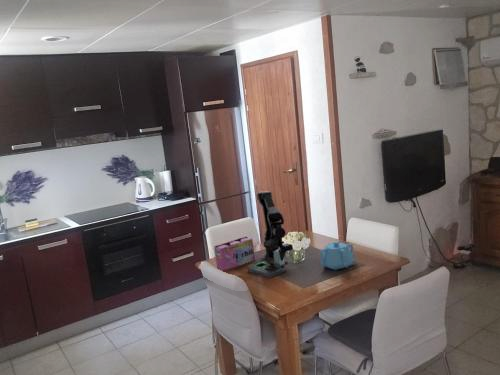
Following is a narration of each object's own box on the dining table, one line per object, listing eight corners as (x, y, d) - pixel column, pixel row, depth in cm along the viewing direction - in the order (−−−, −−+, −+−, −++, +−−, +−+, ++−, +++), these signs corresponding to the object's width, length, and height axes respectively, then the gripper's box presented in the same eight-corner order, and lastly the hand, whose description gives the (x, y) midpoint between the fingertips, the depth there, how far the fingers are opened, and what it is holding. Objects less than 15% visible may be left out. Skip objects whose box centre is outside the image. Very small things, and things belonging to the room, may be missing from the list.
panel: (263, 265, 253) (263, 259, 253) (285, 271, 239) (285, 265, 239) (247, 271, 246) (247, 266, 245) (269, 278, 232) (268, 272, 231)
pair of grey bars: (280, 261, 256) (280, 259, 256) (287, 263, 251) (287, 261, 251) (271, 265, 251) (271, 263, 251) (279, 267, 247) (278, 265, 247)
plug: (279, 262, 254) (278, 249, 253) (284, 263, 251) (283, 250, 250) (274, 264, 252) (273, 251, 250) (279, 265, 249) (278, 252, 247)
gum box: (250, 257, 270) (247, 235, 268) (257, 259, 264) (254, 238, 262) (216, 268, 257) (213, 246, 255) (223, 271, 251) (220, 248, 248)
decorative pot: (346, 273, 226) (343, 248, 224) (317, 269, 236) (315, 245, 233) (358, 262, 239) (356, 238, 237) (330, 259, 249) (328, 236, 246)
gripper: (254, 235, 251) (258, 261, 253) (277, 239, 236) (280, 267, 239) (269, 230, 257) (272, 255, 260) (291, 234, 243) (294, 261, 246)
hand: (279, 259), depth 251 cm, fingers closed on plug, 4 cm apart
